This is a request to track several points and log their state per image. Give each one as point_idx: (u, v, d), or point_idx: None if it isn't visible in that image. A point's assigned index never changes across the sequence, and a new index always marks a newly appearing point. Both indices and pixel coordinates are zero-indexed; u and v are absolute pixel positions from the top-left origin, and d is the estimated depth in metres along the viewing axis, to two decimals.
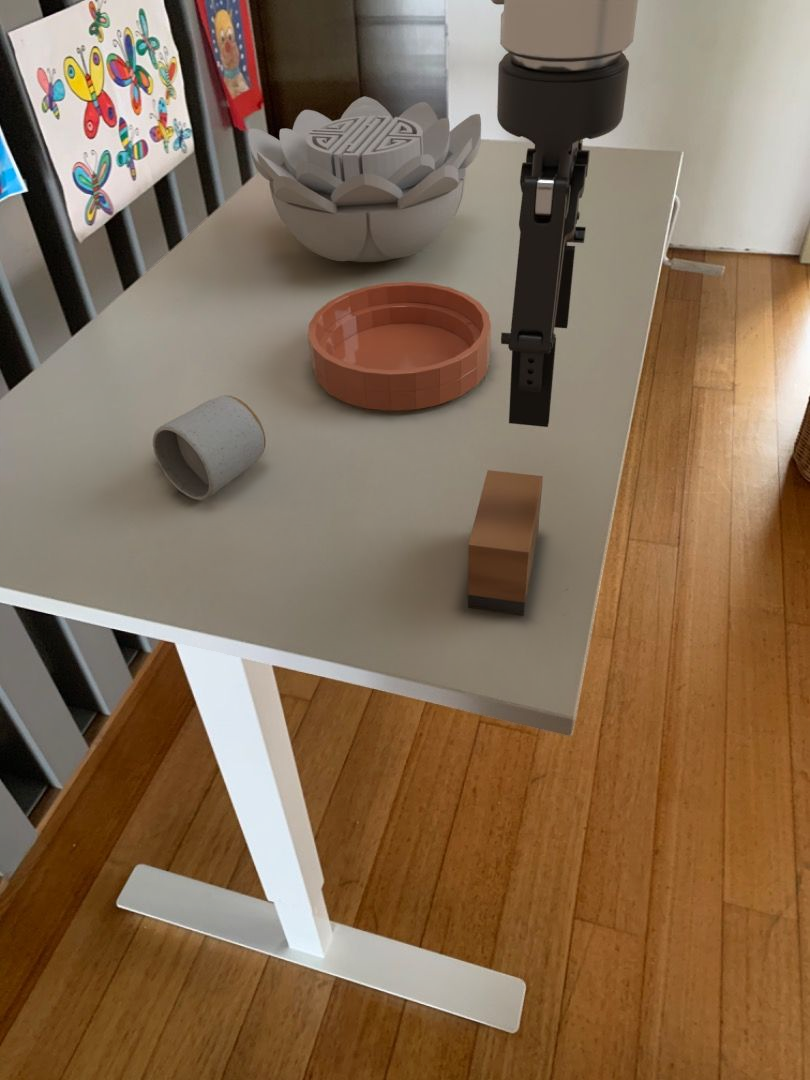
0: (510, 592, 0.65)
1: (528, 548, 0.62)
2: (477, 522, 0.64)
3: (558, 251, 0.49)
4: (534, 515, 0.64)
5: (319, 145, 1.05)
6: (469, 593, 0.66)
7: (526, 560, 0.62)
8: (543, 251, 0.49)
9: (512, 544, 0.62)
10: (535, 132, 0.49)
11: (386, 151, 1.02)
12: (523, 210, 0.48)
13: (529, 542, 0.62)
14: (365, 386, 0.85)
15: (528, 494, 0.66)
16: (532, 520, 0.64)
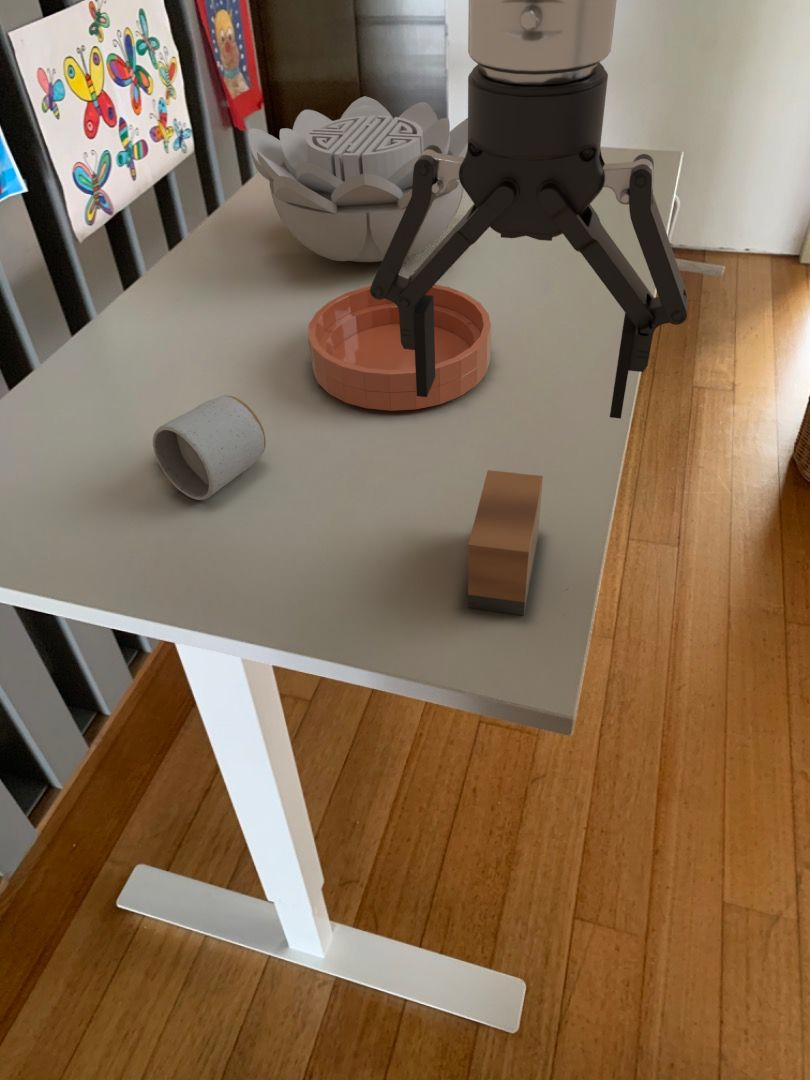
0: (510, 592, 0.65)
1: (528, 548, 0.62)
2: (477, 522, 0.64)
3: None
4: (534, 515, 0.64)
5: (319, 145, 1.05)
6: (469, 593, 0.66)
7: (526, 560, 0.62)
8: (660, 224, 0.50)
9: (512, 544, 0.62)
10: (597, 136, 0.46)
11: (386, 151, 1.02)
12: (651, 199, 0.47)
13: (529, 542, 0.62)
14: (365, 386, 0.85)
15: (528, 494, 0.66)
16: (532, 520, 0.64)
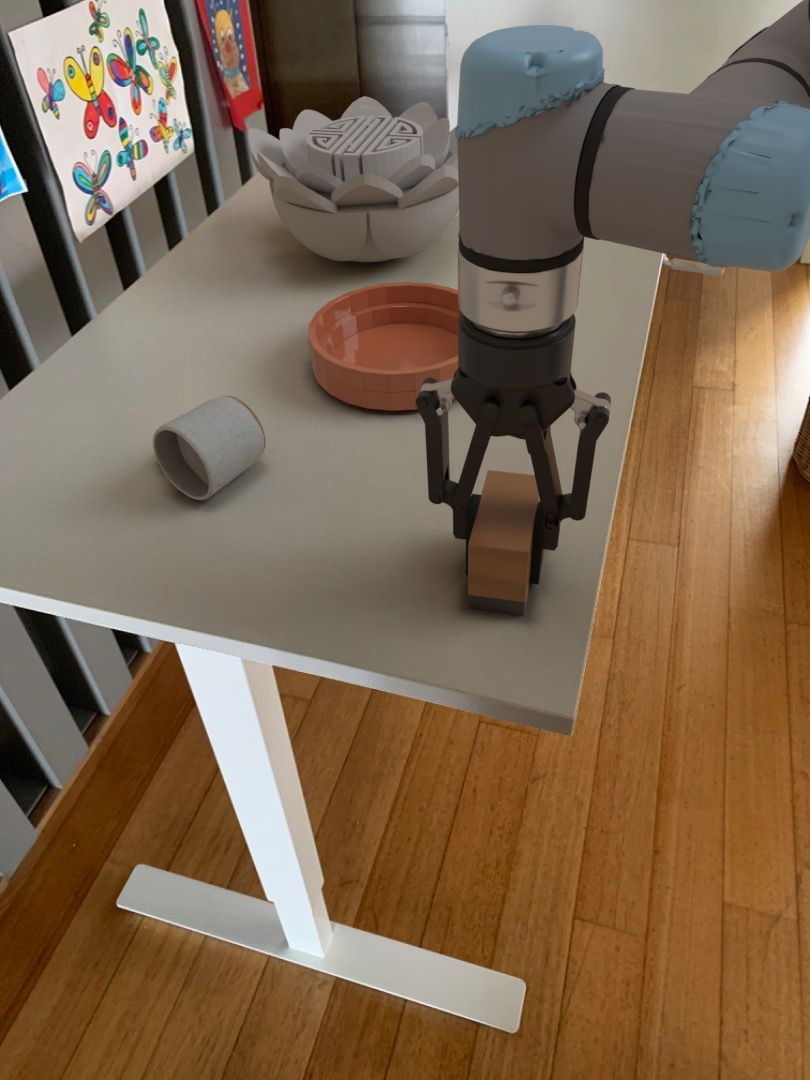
0: (510, 592, 0.65)
1: (528, 548, 0.62)
2: (477, 522, 0.64)
3: None
4: (534, 515, 0.64)
5: (319, 145, 1.05)
6: (469, 593, 0.66)
7: (526, 560, 0.62)
8: None
9: (512, 544, 0.62)
10: (567, 368, 0.54)
11: (386, 151, 1.02)
12: (600, 434, 0.57)
13: (529, 542, 0.62)
14: (365, 386, 0.85)
15: (528, 494, 0.66)
16: (532, 520, 0.64)
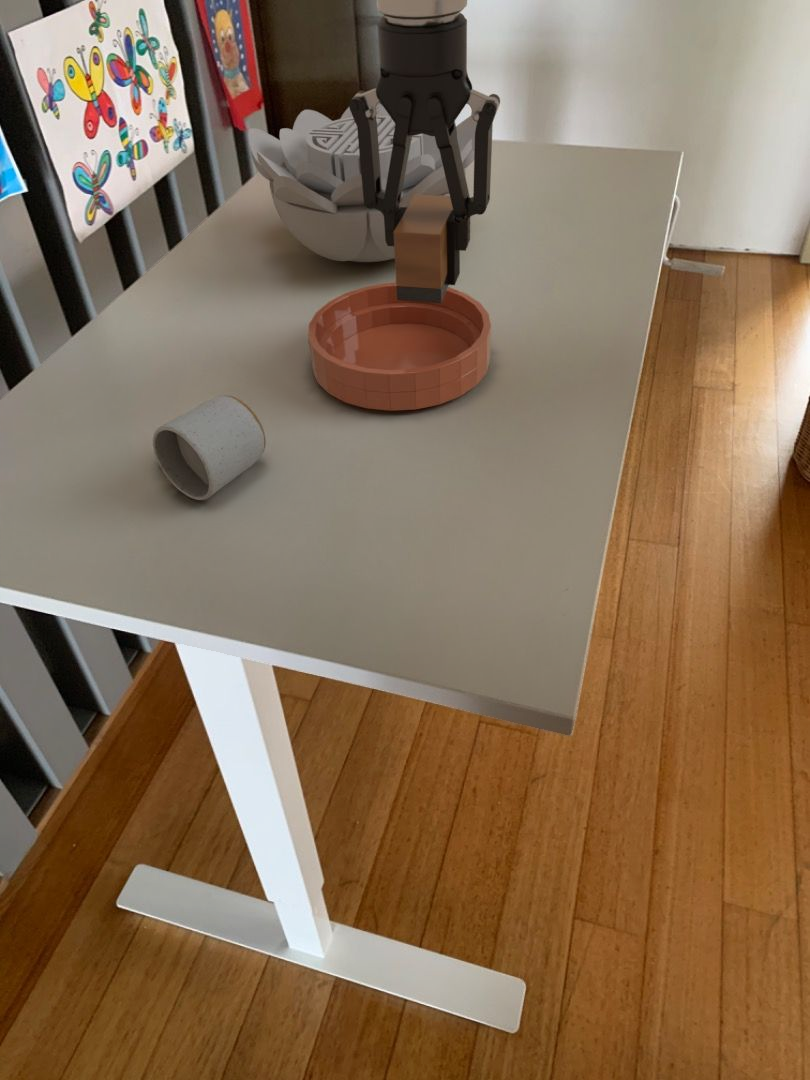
0: (429, 279, 0.81)
1: (440, 232, 0.78)
2: (402, 220, 0.81)
3: None
4: (447, 216, 0.81)
5: (319, 145, 1.05)
6: (397, 284, 0.83)
7: (439, 243, 0.79)
8: (490, 144, 0.76)
9: (428, 231, 0.79)
10: (462, 62, 0.71)
11: (386, 151, 1.02)
12: (490, 125, 0.74)
13: (441, 229, 0.79)
14: (365, 386, 0.85)
15: (445, 206, 0.83)
16: (446, 218, 0.81)
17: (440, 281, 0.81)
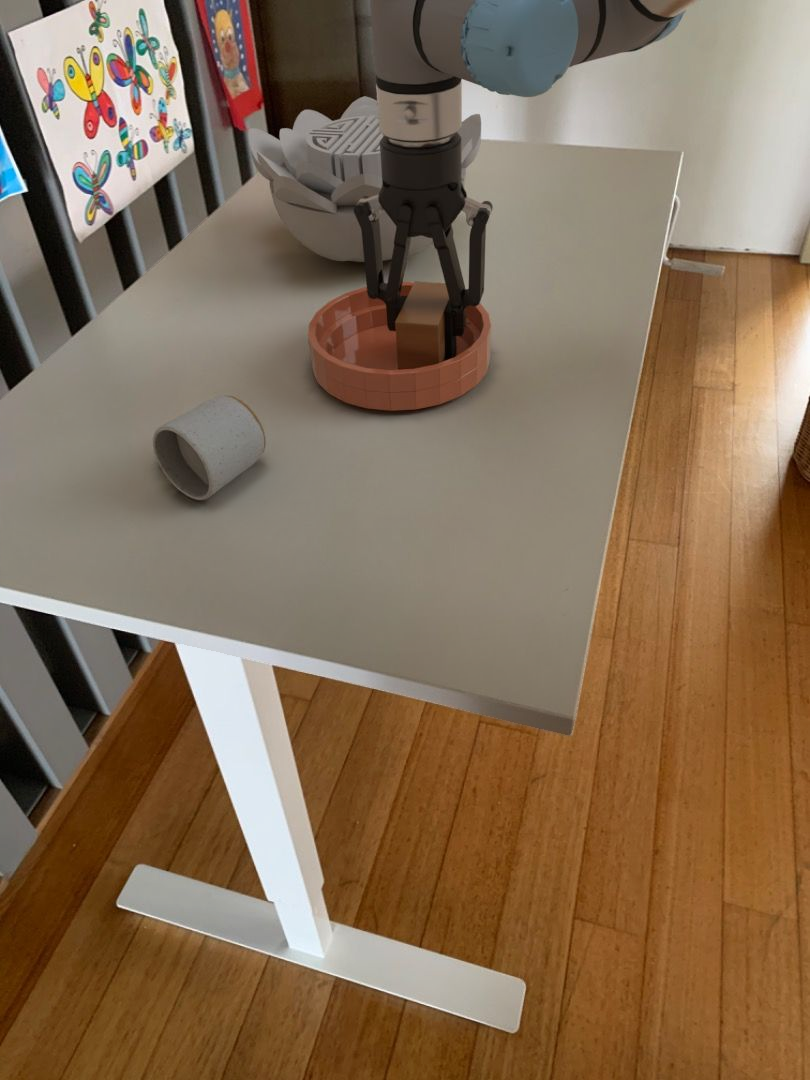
0: (428, 363, 0.88)
1: (438, 323, 0.85)
2: (403, 309, 0.87)
3: None
4: (445, 305, 0.88)
5: (319, 145, 1.05)
6: (398, 367, 0.89)
7: (437, 332, 0.85)
8: (483, 245, 0.83)
9: (427, 321, 0.85)
10: (457, 176, 0.78)
11: None
12: (484, 229, 0.80)
13: (439, 320, 0.85)
14: (365, 386, 0.85)
15: (442, 294, 0.89)
16: (443, 308, 0.87)
17: None
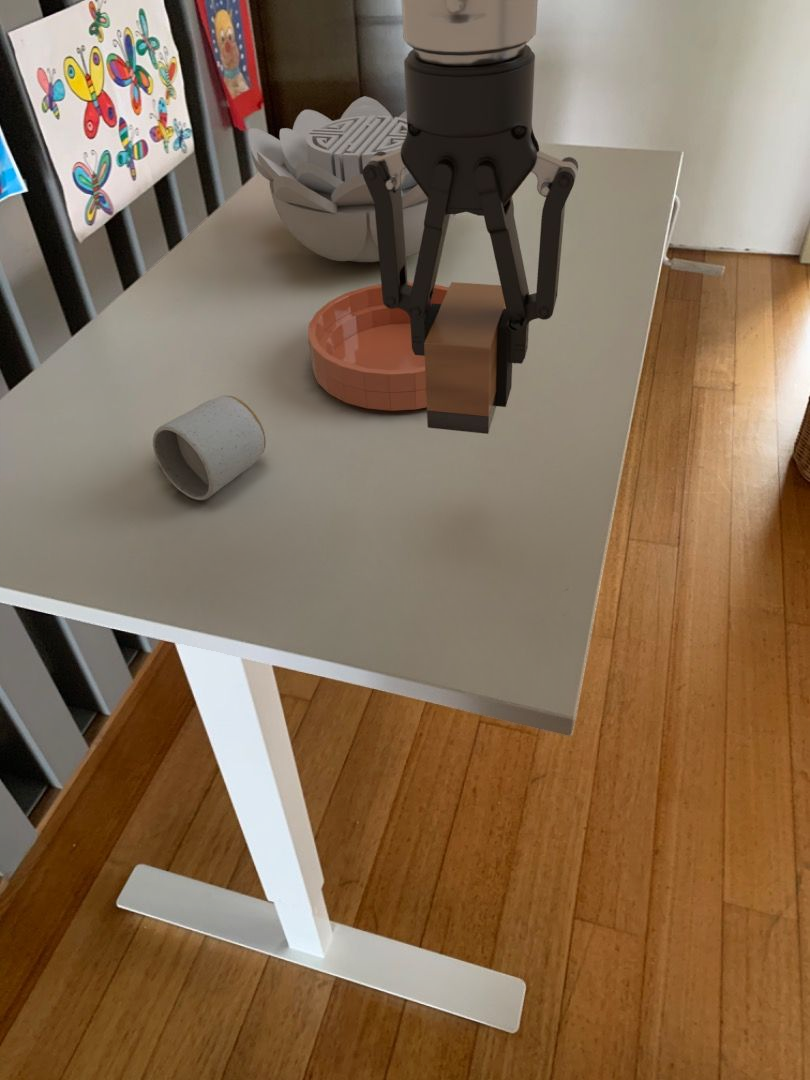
0: (472, 404, 0.59)
1: (489, 345, 0.56)
2: (435, 324, 0.58)
3: (563, 221, 0.55)
4: (498, 318, 0.59)
5: (319, 145, 1.05)
6: (428, 408, 0.60)
7: (487, 359, 0.56)
8: (562, 226, 0.54)
9: (472, 342, 0.56)
10: (526, 115, 0.49)
11: (386, 151, 1.02)
12: None
13: (491, 340, 0.57)
14: (365, 386, 0.85)
15: (493, 301, 0.60)
16: (496, 322, 0.58)
17: (488, 406, 0.59)
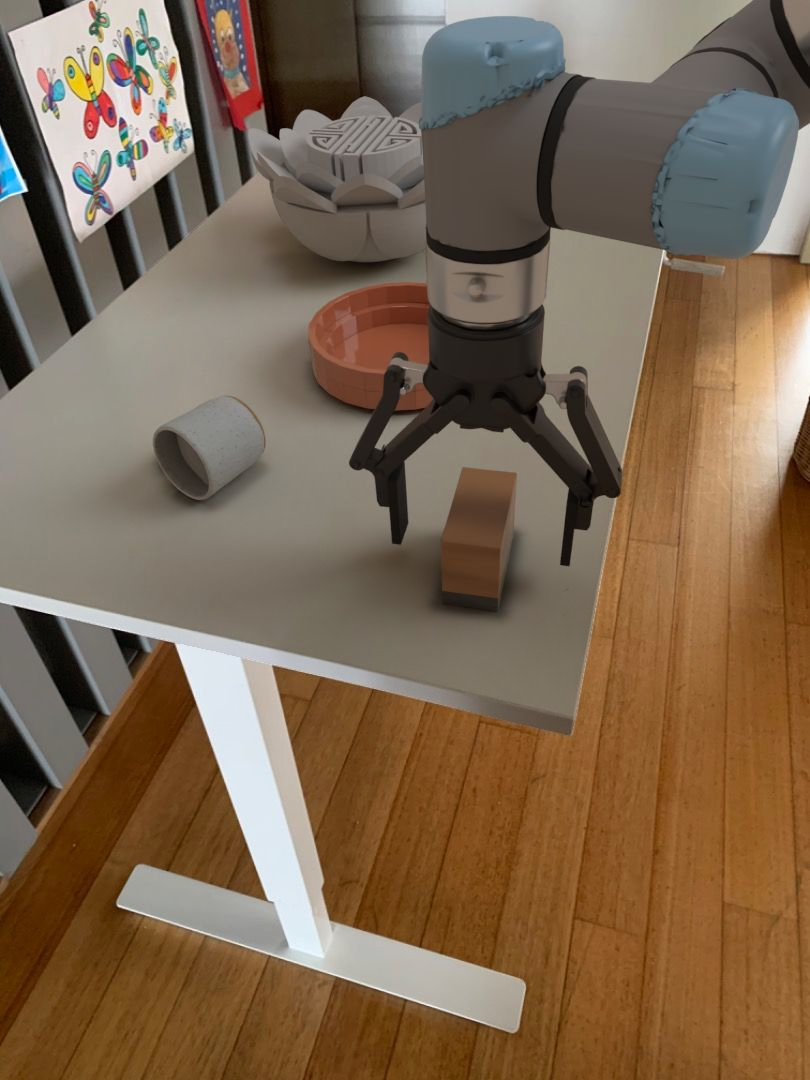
0: (483, 588, 0.65)
1: (500, 544, 0.62)
2: (450, 519, 0.65)
3: (596, 413, 0.59)
4: (507, 512, 0.65)
5: (319, 145, 1.05)
6: (443, 589, 0.67)
7: (498, 556, 0.63)
8: (595, 420, 0.58)
9: (484, 541, 0.63)
10: (537, 360, 0.55)
11: (386, 151, 1.02)
12: (585, 406, 0.56)
13: (501, 538, 0.63)
14: (365, 386, 0.85)
15: (502, 491, 0.67)
16: (505, 517, 0.64)
17: (497, 591, 0.65)
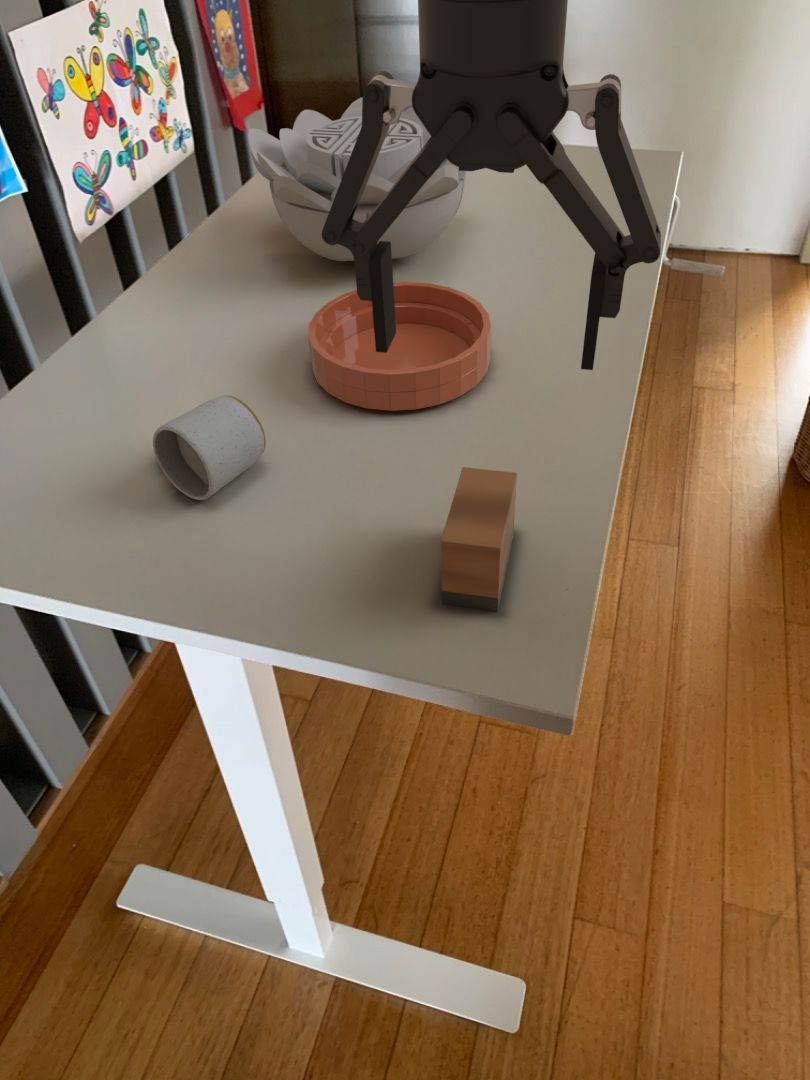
0: (483, 588, 0.65)
1: (500, 544, 0.62)
2: (450, 519, 0.65)
3: (630, 147, 0.47)
4: (507, 512, 0.65)
5: (319, 145, 1.05)
6: (443, 589, 0.67)
7: (498, 556, 0.63)
8: (630, 153, 0.46)
9: (484, 541, 0.63)
10: (558, 52, 0.42)
11: (386, 151, 1.02)
12: (618, 121, 0.44)
13: (501, 538, 0.63)
14: (365, 386, 0.85)
15: (502, 491, 0.67)
16: (505, 517, 0.64)
17: (497, 591, 0.65)
